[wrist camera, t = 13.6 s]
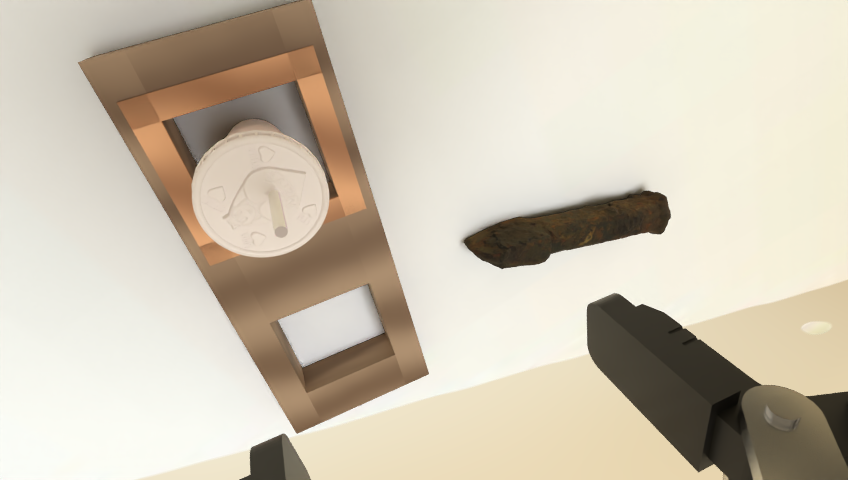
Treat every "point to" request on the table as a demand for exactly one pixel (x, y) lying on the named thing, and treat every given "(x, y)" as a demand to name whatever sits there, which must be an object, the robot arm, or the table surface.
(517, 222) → the hand tool
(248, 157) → the smoothie
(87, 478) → the table surface
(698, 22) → the table surface
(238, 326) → the wooden tray
